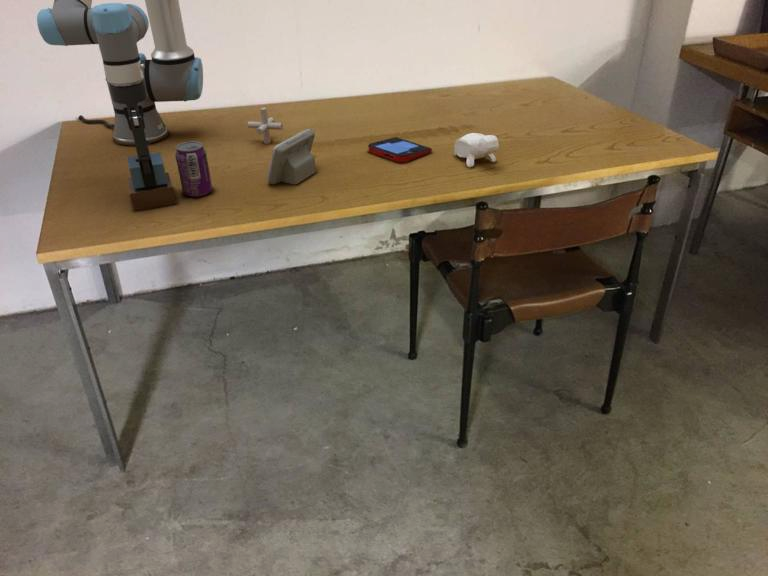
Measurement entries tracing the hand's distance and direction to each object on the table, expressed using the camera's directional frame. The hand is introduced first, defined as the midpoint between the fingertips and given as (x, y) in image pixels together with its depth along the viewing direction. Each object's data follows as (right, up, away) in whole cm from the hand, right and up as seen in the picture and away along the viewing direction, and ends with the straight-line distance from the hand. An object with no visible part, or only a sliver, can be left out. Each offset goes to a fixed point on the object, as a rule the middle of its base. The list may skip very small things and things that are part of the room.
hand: (149, 179), depth 151 cm
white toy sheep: (+81, +8, +20) cm, 84 cm away
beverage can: (+10, -2, +6) cm, 12 cm away
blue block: (0, 0, 0) cm, 0 cm away
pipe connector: (+22, +17, +35) cm, 44 cm away
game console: (+60, +12, +27) cm, 67 cm away
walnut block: (0, -4, +3) cm, 5 cm away
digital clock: (+32, +3, +14) cm, 35 cm away
